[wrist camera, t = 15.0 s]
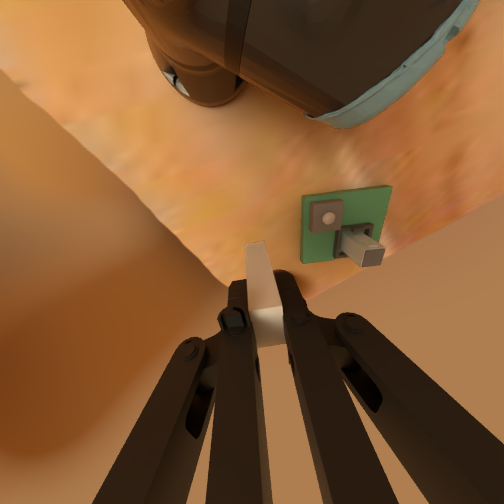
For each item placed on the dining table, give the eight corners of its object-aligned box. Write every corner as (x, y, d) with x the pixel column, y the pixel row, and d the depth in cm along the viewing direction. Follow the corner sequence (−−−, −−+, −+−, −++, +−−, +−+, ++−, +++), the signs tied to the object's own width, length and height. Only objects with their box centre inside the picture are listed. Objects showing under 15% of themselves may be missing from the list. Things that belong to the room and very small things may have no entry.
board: (301, 195, 38) (310, 201, 34) (385, 185, 38) (404, 188, 34) (300, 259, 46) (306, 270, 41) (369, 250, 46) (383, 260, 41)
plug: (343, 231, 40) (366, 248, 33) (360, 229, 40) (387, 246, 33) (340, 248, 42) (361, 268, 35) (356, 246, 43) (381, 265, 35)
